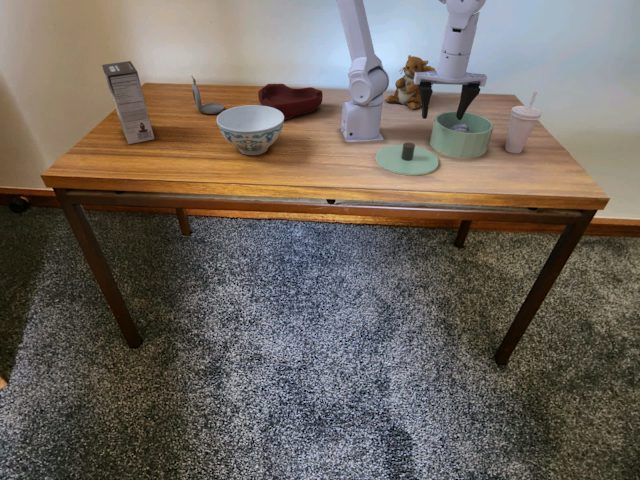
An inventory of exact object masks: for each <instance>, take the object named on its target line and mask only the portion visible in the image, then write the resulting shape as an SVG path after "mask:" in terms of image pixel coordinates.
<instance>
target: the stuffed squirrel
mask: <svg viewBox="0 0 640 480" xmlns="http://www.w3.org/2000/svg"><path fill="white" fill-rule="evenodd" d="M428 64H429V60H423V59H422V58H420V57H418V56H412V55H411V54H409V55H407V60H406V63H405V65H404V67H403V66H402V68H401V69H399V72H400V75H402V74H403V73H404V75H403V76H402V77H400V78H399V79H397V80H396V81H395V88H396V89H395V91H394V94H393V95H388V96H387V97H386V98H385V101H386V103H389V104H391V103H392V104H393V103H399V104H400V105H401V104H402V105H404V106H407V107H408V108H409V109H410V110H413V111H414V110H417V109H419V108H420V107H422V102H421V96H420V91H419V87H418V84H415V83H414V75H415V72H430V71H436V68H435V67H432V66H431V65H428ZM433 85H434V84H431V86H433Z"/></svg>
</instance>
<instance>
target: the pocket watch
mask: <svg viewBox="0 0 640 480" xmlns="http://www.w3.org/2000/svg"><path fill="white" fill-rule="evenodd" d="M191 78H192V83H193V84H192V85H191V91H192V96H193V101H194V106H195V107H196V109H197V111H200V112H201V113H202V114H206V115H215V114H220V113H221V112H223V111H225V110H224V109H225V106H224V105H223V104H221V103H217V102H211V103H210V102H209V103H205V104H202V98H201V94H200V89H199V87H198V85H197V83H196V82H197V81H196V79H195V77H194V76H193V75H191Z"/></svg>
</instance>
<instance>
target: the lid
mask: <svg viewBox="0 0 640 480" xmlns="http://www.w3.org/2000/svg"><path fill="white" fill-rule="evenodd" d="M375 161H376V163H377V165H379V166H380V167H381V168H382V169H384V170H385V171H388V172H390V173H393V174H395V175H396V174H397V175H402V176H409V177H410V176H411V177H415V176H416V177H417V176H424V175H428V174H430V173H433V172H435V171H436V170H437V169H438V167H439V162H440V161H439V158H438V156H436V154H434V153H433V152H432V151H430V150H428V149H426V148H424V147H420V146H417V145H416V144H414V143H412V142H404V143H403V144H391V145H386V146H384V147H381V148H379V149H378V151H377V152H376V154H375Z"/></svg>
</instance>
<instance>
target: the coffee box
mask: <svg viewBox="0 0 640 480" xmlns="http://www.w3.org/2000/svg"><path fill="white" fill-rule="evenodd" d="M101 67H102V70H103V74H104V77H105V79H106V83H107V87H108V90H109V93H110V96H111V100H112V102H113V106H114V108H115V111H116V115H117V118H118V120H119V124H120V127H121V129H122V132H123V134H124V137H125V139H126V142H127V144H128V145H134V144H138V143H144V142H147V141H152V140H155V139H156V138H155V134H154V131H153V126H152V123H151V119H150V116H149V112H148V108H147V104H146V99H145V96H144V92H143V88H142V83H141V81H140V80H141V79H140V76H139V72H138V70H137V69H136V67H135V66H134V64H133V63H132V61H131V60H128V61H122V62H121V61H120V62H113V63H106V64H101Z"/></svg>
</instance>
